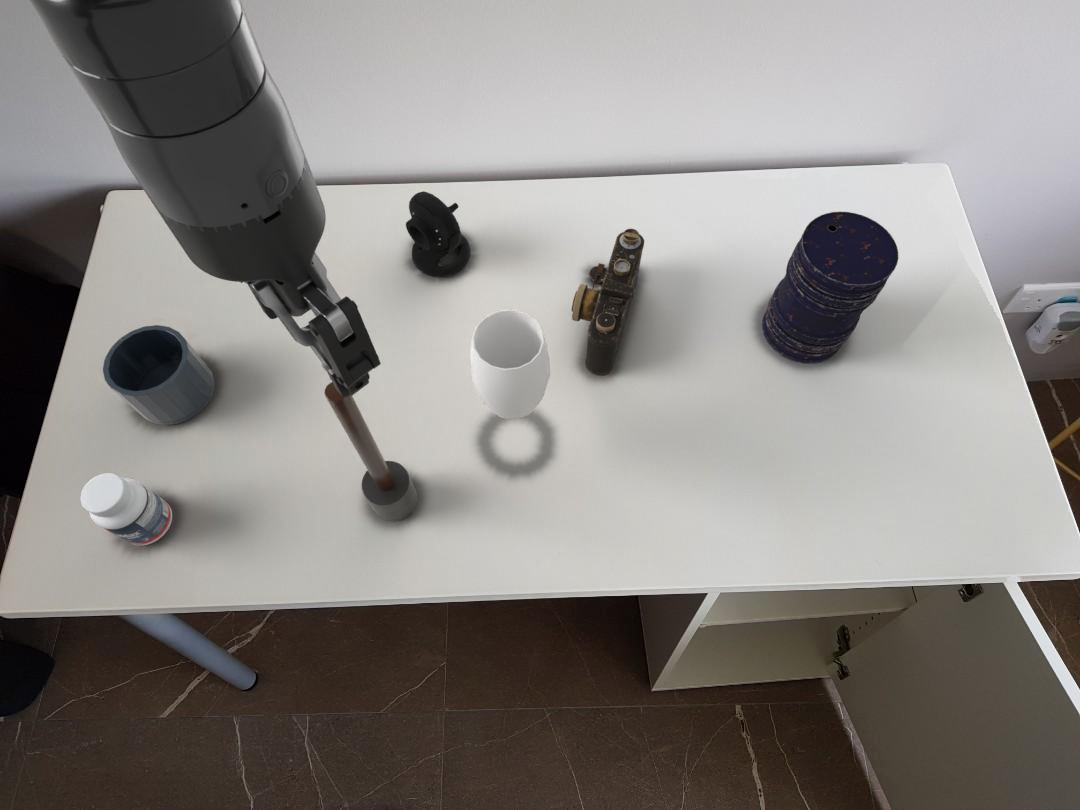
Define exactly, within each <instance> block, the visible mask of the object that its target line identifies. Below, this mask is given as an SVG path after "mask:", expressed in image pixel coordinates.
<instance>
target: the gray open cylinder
mask: <svg viewBox="0 0 1080 810" xmlns="http://www.w3.org/2000/svg"><path fill="white" fill-rule="evenodd" d="M102 374H103V379H104V381H105V383H106V384H107V385H108V387H109V388H110V389H111V391H113V392H114V393H115V394H116V395H117V396H119V397H120V398H121V399H122V400H123V401H124V402H125V403H127V404H128V405H129V406H130V407H131V408H132V409H133V410H134V411H135V412H136V413H138V414H139V415H140V416H141V417H143V419H145V420H147V421H148V422H150V423H153V424H156V425H160V426H173V425H179V424H181V423H182V424H183V423H184V422H186V421H189V420H191V419H192V418H194V417H196V416H197V415H198V414H200V413H201V412H202V411H203V410H204V409H205V408H206V406H207V405H208V404H209V402H210V401H211V399H212V397H213V394H214V391H215V377H214V374H213V373H212V370H211V369H210V368H209V366H208V365H207V364H206V363H205V361H204V360H203V359H202V358H201V356H200V355H199V354H198V353H197V351H196V350H195V349H194V347H192V345H191V344H190V343H189V342H188V340H187V339H186V338H185V337H184V336H183V335H182V333H181V332H180V331H178V330H176V329H174V328H172V327H171V326H166V325H159V324H154V325H146V326H141V327H139V328H136V329H134V330H131V331H129V332H128V333H126V334H125V335H122V336H121V337H120V338H119V339H118V340H117V341H115V343H114V344H113V345H111V347H110V349H109V350H108V352H107V353H106V355H105V357H104V361H103V365H102Z"/></svg>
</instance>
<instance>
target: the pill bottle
mask: <svg viewBox="0 0 1080 810" xmlns="http://www.w3.org/2000/svg"><path fill="white" fill-rule="evenodd" d="M80 503H81V505H82V507H83V509H85V510H86V511H87V512H88V513H89V516H90V518H91V520H92V521H93V522H94V523H95V524H96V525H97V526H99V527H100V528H101V529H104V530H106V531H107V532H109V533H111V534H113V535H114V536H116V537H119V539H122V540H123V541H125V542H127V543H129V544H130V545H134V546H147V545H151V544H153V543H156V542H157V541H159V540H160V539H161V538H162V537H164V535H165V534H166V533H167V532H168V530H169V529H170V527H171V524H172V522H173V510H172V508H171V506H170V505H169V503H168V502H166V501H165V499H163V498H162V497H160V496H159V495H157V494H156V493H154V492H153V491H152V490H150V489H149V488H147V487H146V486H145V485H144V484H142V483H141V482H139V481H138V480H136V479H133V478H130V477H121V476H119V475H118V474H116V473H113V472H112V473H111V472H104V473H100V474H98V475H96V476H94V477H92V478H91V479H90V480H88V482H86V483H85V485H84V486H83V488H82V490H81V492H80Z"/></svg>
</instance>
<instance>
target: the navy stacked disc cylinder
mask: <svg viewBox="0 0 1080 810" xmlns="http://www.w3.org/2000/svg"><path fill="white" fill-rule="evenodd" d="M898 261H899V249H898V245H897V243H896V241H895V239H894V237H893V235H892V234H891V233H890V232H889V231H888V230H887V229H886V228H885V227H884V226H883V225H881V224H880V223H878V221H876V220H874V219H872V218H870V217H868V216H865V215H863V214H859V213H856V212H851V211H832V212H831V211H830V212H827V213H823V214H820V215H818V216H817V217H815V218H814V219H812V220H810V222H809V223H808V224H807V226H806V227H805V229H804V230H803V232H802V234H801V236H800V239H799V240H798V242H796V245H795V247H794V249H793V251H792V253H791V256H790V257H789V259H788V261H787V265H786V270H785V271H786V272H785V275H784V277H783V278H782V279H781V280H780V281H779V282H778V284H777V285H776V286H775V289H774V291H773V293H772V295H771V297H770V299H769V301H768V304H767V308H766V310H765V312H764V313H763V316H762V320H761V328H762V329H761V330H762V334H763V336H764V339H765V341H766V342H767V344H768V345H769V346H770V347H771V348H772V350H774V352H776V353H777V354H778V355H780V356H781V357H783V358H785V359H786V360H789V361H792V362H795V363H799V364H807V365H811V364H818V363H822V362H826V361H828V360H829V359H831V358H833V357H834V356H835V355H836V354H837V353H838V352H839V350H840V349H841V348H842V346H843V345H844V344H845V343H847V341H848V340H849V338H850V337H851V335H852V333H854V331H855V329H856V328H857V325H858V324H859V321H860V320H861V319H860V318H861V315H862V313H863V312H864V311H865V310H866V309H868V308H869V307H870V306H871V305H873V304H874V302H875V301H876V299H878V296H879V295H880V293H881V291H882V290H883V289H884V288H885V286H886V284H887V281H888V280H889V278H890V277H891V275H892V274H893V273H894V272H895V269H896V267H897V265H898Z"/></svg>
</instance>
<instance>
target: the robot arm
mask: <svg viewBox="0 0 1080 810" xmlns="http://www.w3.org/2000/svg"><path fill="white" fill-rule="evenodd" d="M28 1H29V2H30V4H31V5H32V7H33V9H34V10H35V12H36V13H37V15H38V17H39V19H40V21H41V22H42V24H43V27H45V30H46V31H47V33H48V35H49V37H50V39H51V40H52V42H53V43H54V45H55V47H56V48H57V50H58V51H59V54H61V56H62V58H63V59H64V61H65V63H66V64H67V66H68V67H69V68H70V70H71V71H72V73H73V75H74V76H75V77H76V79H77V81H78V82H79V84H80V85H81V87H82V88H83V90H84V91H85V93H86V95H87V96H88V97H89V99H90V101H91V102H92V103H93V105H94V106H95V108H96V110H97V111H98V113H99V114H100V116H101V117H102V120H103V121H104V122H105V124H106V126H107V128H108V130H109V133H110V135H111V137H112V139H113V141H114V143H115V145H116V147H117V150H118V151H119V154H120V156H121V157H122V159H123V162H125V164H126V166H127V167H128V169H129V170H130V172H131V174H132V175H133V177H135V179H136V181H137V183H138V184H139V186H140V188H142V190H143V192H144V193H145V195H146V196H147V197H148V199H149V200H150V202H151V203H152V205H153V206H154V208H155V210H156V211H157V213H158V214H159V215H160V217H161V218H162V220H163V221H164V223H165V224H166V226H167V227H168V229H169V230H170V232H171V233H172V235H173V237H174V238H175V239H176V241H177V243H178V244H179V245H180V247H181V248H182V250H183V251H184V253H185V254H186V256H187V257H188V259H189V260H190V261H191V262H192V263H193V264H194V265H195V266H196V267H197V268H198V269H200V270H201V271H202V272H204V273H205V274H208V275H209V276H211V277H214V278H217V279H220V280H223V281H228V282H234V283H240V284H243V283H244V284H246V285H247V286H248V288H249V290H250V291H251V294H252V295H253V296H254V298H255V299H256V301H257V303H258V305H259V306H260V308H261V310H262V312H263V313H264V314H265V315H266V316H267V317H268V318H269V319H270V320H276V319H277V318H278V319H279V321H280V322H281V324H282V325H283V326H284V328H285V329H286V331H287V332H288V333H289V335H290V336H291V337H292V339H293V340H294V341H295V342H296V343H298V344H299V345H301V346H304V347H309V348H310V349H311V350H312V352H313V353H314V355H315V356H316V357H317V359H318V360H319V361H320V363H321V367H322V368H323V370H324V371H325V372H327V375H328V377H329V378H330V380H331V382H333V384H334V386H335V388H336V390H337V391H338V392H339V393H340V394H341V395H342V396H343V397H347V396H349V395H351V396H355V395H356V394H357V393H358V392H359V391H361V390H362V389H363V388H365V387H366V386H368V385H369V384H370V378H371V377H370V374H369V373H370V372H371V371H372V370H374V369H376V368H377V367H379V366H380V365H381V364H382V363H381V360H380V357H379V355H378V354H377V351H376V349H375V347H374V344H373V342H372V339H371V336H370V334H369V332H368V330H367V328H366V325H365V322H364V320H363V318H362V315H361V313H360V311H359V309H358V304H357V303H356V301H354V300H353V299H351V298H349V296H347V295H346V296H344V297H343V298H341V297H340V295H339V293H338V292H337V290H336V289H335V288H334V286H333V284H332V283H331V281H330V279H329V278H328V276H327V273H328V270H327V268H326V266H325V265H324V263H323V262H322V260H321V258H320V257H319V256H318V254H317V253H316V250H317V248H318V247H319V243H320V241H321V240H322V237H323V234H324V231H325V227H326V222H327V221H326V220H327V219H326V218H327V215H326V208H325V205H324V202H323V199H322V195H321V194H320V191H319V189H318V185H317V183H316V181H315V178H314V175H313V172H312V170H311V167H310V164H309V162H308V158H307V156H306V154H305V151H304V148H303V146H302V143H301V140H300V137H299V135H298V132H297V130H296V127H295V125H294V122H293V119H292V116H291V114H290V111H289V109H288V106H287V103H286V101H285V99H284V97H283V95H282V93H281V91H280V89H279V87H278V85H277V84H276V82H275V81H274V79H273V77H272V75H271V73H270V72H269V69H268V67H267V65H266V63H265V60H264V58H263V55H262V53H261V50H260V48H259V45H258V42H257V39H256V37H255V35H254V32H253V29H252V27H251V24H250V21H249V19H248V16H247V14H246V10H245V8H244V6H243V3H242V1H241V0H28ZM309 311H311V312H312V313H313V314H314V316H315V317H313V318H312V319H310V320H309V321H308V324H307V325H305V326H304V327H300V325H299V324H298V323H297V321H296V320H295V317H296V318H297V317H302V316H303V315H305V314H306V313H308V312H309Z"/></svg>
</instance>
